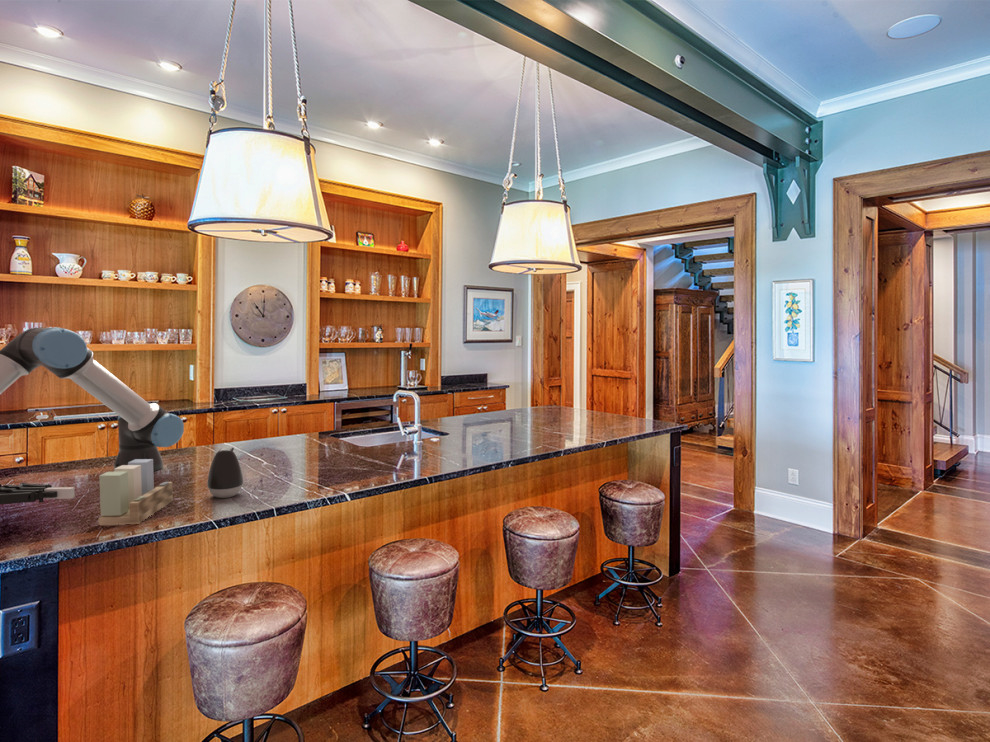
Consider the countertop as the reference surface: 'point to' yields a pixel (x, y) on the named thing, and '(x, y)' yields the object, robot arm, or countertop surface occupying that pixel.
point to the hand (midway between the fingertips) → (72, 492)
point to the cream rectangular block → (132, 480)
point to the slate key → (145, 473)
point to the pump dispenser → (225, 474)
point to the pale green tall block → (114, 493)
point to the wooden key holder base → (142, 506)
